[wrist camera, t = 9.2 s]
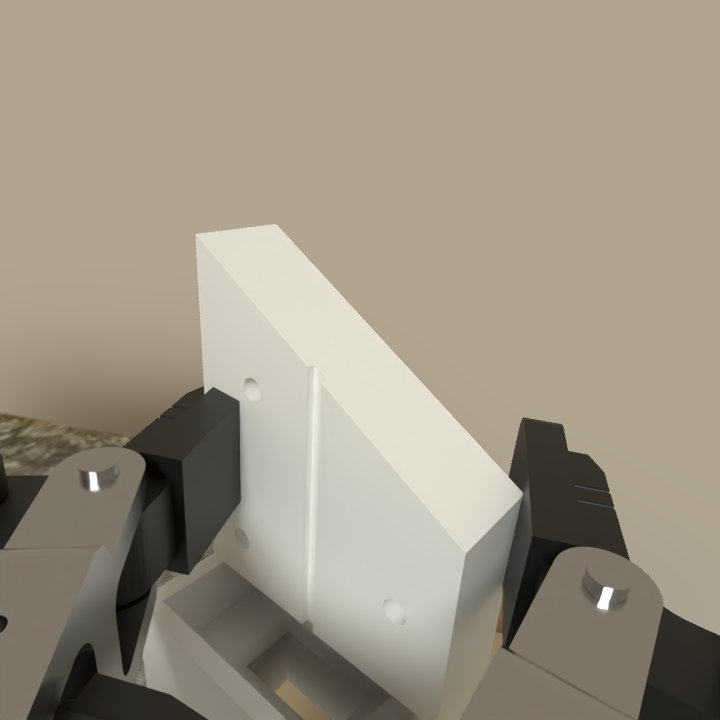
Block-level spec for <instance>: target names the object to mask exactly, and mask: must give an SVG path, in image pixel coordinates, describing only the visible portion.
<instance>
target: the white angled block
mask: <svg viewBox="0 0 720 720" xmlns="http://www.w3.org/2000/svg"><path fill="white" fill-rule="evenodd" d="M196 251H197V270H198V287H199V305H200V323H201V340H202V359H203V377H204V394H205V393H207V392H208V391H209V390H210V389H211V388H212V387H215V388H217V389H218V390H220V391H222V392H224V393H226V394H227V395H229V396H231V397H233V398H235V399H237V400H238V401H240V479H241V501H240V503H239V504H238V506H237V507H236V509H235V510H234V511H233V513H232V514H231V516H230V517H229V519H228V520H227V521H226V523H225V524H224V526H223V527H222V528H221V530H220V531H219V533H218V534H217V536H216V537H215V538H214V540H213V554H212V555H210V556H208V557H207V558H205V559H204V560H202V561H200V562H199V563H197V564H196V565H195V567H194V568H193V570H192V571H191V573H190V574H189V575H185V574H179V575H178V576H176V577H175V578H173V579H171V580H170V581H168V582H167V583H165V584H163V585H162V586H160V587H159V588H157V589H156V591H157V597H156V602H155V606H154V610H153V614H152V618H151V622H150V626H149V630H148V634H147V638H146V642H145V646H144V650H143V662H144V669H145V677H146V684H147V688H150V689H154V690H157V691H161V692H164V693H167V694H171V695H172V696H174V697H175V698H177V699H178V700H180V701H181V702H183V703H184V704H186V705H187V706H189V707H190V708H192V709H193V710H195V711H196V712H198V713H199V714H201V715H202V716H204V717H205V718H207V719H208V720H304V719H303V718H302V717H301V716H300V715H298V714H297V713H296V712H295V711H294V710H293V709H292V708H291V707H290V706H289V705H288V704H287V703H286V702H284V701H283V700H282V699H281V698H280V697H279V696H278V695H277V694H276V693H275V691H277V690H278V689H279V688H280V687H281V686H282V685H283V684H284V683H285V682H286V681H287V680H288V681H289V682H290V683H291V684H292V685H293V686H295V687H296V688H297V689H298V690H299V691H300V692H301V693H302V694H304V695H305V696H306V697H307V698H308V699H309V700H310V701H311V702H312V703H314V704H315V705H316V706H317V707H318V708H319V709H320V710H321V711H323V712H324V713H325V714H326V715H327V716H328V717H329V718H330V719H331V720H460V718H461V717H462V715H463V713H464V711H465V709H466V707H467V705H468V704H469V702H470V700H471V698H472V696H473V694H474V692H475V691H476V689H477V687H478V685H479V683H480V681H481V679H482V678H483V676H484V674H485V672H486V670H487V668H488V665H489V660H490V655H491V651H492V646H493V641H494V636H495V632H496V627H497V622H498V617H499V612H500V608H501V603H502V598H503V581H504V576H505V572H506V567H507V563H508V559H509V554H510V550H511V545H512V541H513V536H514V532H515V528H516V523H517V519H518V514H519V510H520V506H521V501H522V497H523V492H522V491H521V490H520V489H519V488H518V487H517V486H516V485H515V484H514V482H513V481H512V480H511V479H510V478H509V477H508V476H507V475H506V474H505V473H504V472H503V471H502V469H501V468H500V467H499V466H498V465H497V464H496V463H495V462H494V461H493V460H492V459H491V457H490V456H489V455H488V454H487V453H486V452H485V451H484V450H483V449H482V448H481V447H480V446H479V444H478V443H477V442H476V441H475V440H474V439H473V438H472V437H471V436H470V435H469V434H468V432H467V431H466V430H465V429H464V428H463V427H462V426H461V425H460V424H459V423H458V422H457V420H456V419H455V418H454V417H453V416H452V415H451V414H450V413H449V412H448V411H447V410H446V408H445V407H444V406H443V405H442V404H441V403H440V402H439V401H438V400H437V399H436V398H435V397H434V396H433V394H432V393H431V392H430V391H429V390H428V389H427V388H426V387H425V386H424V385H423V384H422V382H421V381H420V380H419V379H418V378H417V377H416V376H415V375H414V374H413V373H412V371H411V370H410V369H409V368H408V367H407V366H406V365H405V364H404V363H403V362H402V361H401V360H400V358H399V357H398V356H397V355H396V354H395V353H394V352H393V351H392V350H391V349H390V348H389V347H388V345H387V344H386V343H385V342H384V341H383V340H382V339H381V338H380V337H379V336H378V334H376V332H375V331H374V330H373V329H372V328H371V327H370V326H369V325H368V324H367V323H366V321H365V320H363V318H362V317H361V316H360V315H359V314H358V313H357V312H356V311H355V309H354V308H353V307H352V306H351V305H350V304H349V303H348V302H347V301H346V300H345V299H344V298H343V296H342V295H341V294H340V293H339V292H338V291H337V290H336V289H335V288H334V287H333V286H332V284H330V282H329V281H328V280H327V279H326V278H325V277H324V276H323V275H322V274H321V273H320V271H319V270H318V269H317V268H316V267H315V266H314V265H313V264H312V263H311V262H310V260H309V259H308V258H307V257H306V256H305V255H304V254H303V253H302V252H301V251H300V250H299V249H298V248H297V246H296V245H295V244H294V243H293V242H292V241H291V240H290V239H289V238H288V237H287V235H286V234H285V233H284V232H283V231H282V230H281V229H280V228H279V227H278V226H277V225H276V224H273V225H265V226H257V227H249V228H241V229H233V230H226V231H217V232H209V233H201V234H196Z"/></svg>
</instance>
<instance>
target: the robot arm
mask: <svg viewBox="0 0 720 720" xmlns="http://www.w3.org/2000/svg"><path fill="white" fill-rule="evenodd" d="M509 478H510V479H511V480H512V481H513V482H514V484H515V485H516V486H517V487H518V488H519V489H520V490H521V491H522V492H523V497H522V501H521V506H520V510H519V514H518V519H517V523H516V528H515V532H514V536H513V541H512V545H511V550H510V554H509V559H508V563H507V567H506V572H505V576H504V581H503V621H502V646H501V647H500V648H499V649H498V651H497V652H496V654H495V656H494V657H493V659H492V661H491V663H490V665H489V666H488V668H487V670H486V672H485V674H484V676H483V678H482V679H481V681H480V683H479V685H478V687H477V689H476V691H475V692H474V694H473V696H472V698H471V700H470V702H469V704H468V705H467V707H466V709H465V711H464V713H463V715H462V717H461V718H460V720H720V636H719V635H717V634H715V633H713V632H710V631H708V630H705V629H704V628H701V627H699V626H697V625H695V624H693V623H691V622H689V621H687V620H685V619H683V618H681V617H679V616H677V615H676V614H674V613H672V612H671V611H669V610H668V609H666V608H665V607H663V599H662V595H661V593H660V591H659V589H658V587H657V585H656V584H655V582H654V581H653V580H652V579H651V578H650V577H649V575H647V574H646V573H645V572H644V571H643V570H642V569H641V568H639V567H638V566H637V565H635V564H634V563H632V562H631V561H630V559H629V556H628V553H627V549H626V545H625V542H624V539H623V535H622V532H621V528H620V525H619V522H618V518H617V515H616V511H615V510H614V509H613V508H614V504H613V501H612V498H611V494H609V487H608V484H607V480H606V477H605V473H604V472H603V471H602V469H601V468H600V467H599V466H598V465H597V464H596V463H595V462H594V461H593V460H592V459H591V457H590V456H589V455H587V454H581V453H576V452H570V451H568V448H567V443H566V438H565V433H564V428H563V425H562V424H558V423H552V422H546V421H540V420H535V419H529V418H523V419H522V421H521V424H520V428H519V432H518V436H517V441H516V446H515V450H514V455H513V460H512V464H511V468H510V473H509ZM240 501H241V479H240V401H238V400H237V399H235V398H233V397H231V396H229V395H227V394H226V393H224V392H222V391H220V390H218V389H217V388H215V387H212V388H211V389H210V390H209V391H208V392H207V393H205V394H204V387H201V388H199V389H196V390H194V391H192V392H189V393H187V394H185V395H184V396H183V397H182V398H181V399H180V400H179V401H177V402H176V403H175V404H174V405H173V406H172V408H169V409H168V410H166V411H165V412H164V413H163V414H162V415H161V416H160V419H159V418H157V419H156V420H155V421H153V422H152V423H151V424H150V425H149V426H147V427H146V428H145V429H144V430H143V431H142V432H140V433H139V434H138V435H137V436H135V437H134V438H133V439H132V440H131V441H130V442H128V443H127V444H126V445H125V446H124V447H122V448H120V447H101V448H94V449H90V450H86V451H82V452H79V453H77V454H74V455H72V456H70V457H68V458H66V459H65V460H63V461H62V462H60V463H59V464H58V465H57V466H56V467H55V468H54V469H53V470H52V472H51V473H50V475H49V476H6V473H5V468H4V463H3V458H2V456H1V454H0V720H208V719H207V718H205V717H204V716H202V715H201V714H199V713H198V712H196V711H195V710H193V709H192V708H190V707H189V706H187V705H186V704H184V703H183V702H181V701H180V700H178V699H177V698H175V697H174V696H172V695H171V694H167V693H164V692H161V691H157V690H154V689H150V688H147V687H144V686H140V685H137V684H135V683H136V679H137V675H138V671H139V667H140V663H141V659H142V654H143V650H144V646H145V642H146V638H147V634H148V630H149V626H150V622H151V618H152V614H153V610H154V606H155V602H156V597H157V591H156V581H157V579H158V578H159V577H160V575H161V574H162V573H163V571H164V570H169V571H173V572H177V573H181V574H185V575H189V574H190V573H191V571H192V570H193V568H194V567H195V565H196V564H197V563H198V561H199V560H200V558H201V557H202V556H203V554H204V553H205V551H206V550H207V548H208V547H209V546H210V544H211V543H212V541H213V540H214V538H215V537H216V536H217V534H218V533H219V531H220V530H221V528H222V527H223V526H224V524H225V523H226V521H227V520H228V519H229V517H230V516H231V514H232V513H233V511H234V510H235V509H236V507H237V506H238V504H239V503H240Z"/></svg>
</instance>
